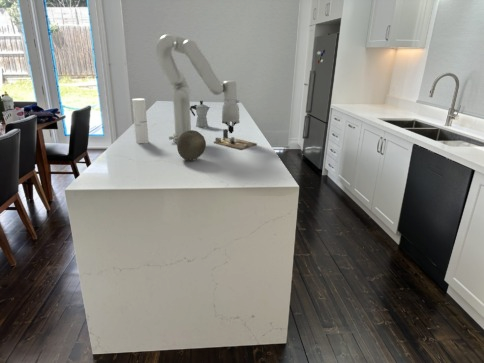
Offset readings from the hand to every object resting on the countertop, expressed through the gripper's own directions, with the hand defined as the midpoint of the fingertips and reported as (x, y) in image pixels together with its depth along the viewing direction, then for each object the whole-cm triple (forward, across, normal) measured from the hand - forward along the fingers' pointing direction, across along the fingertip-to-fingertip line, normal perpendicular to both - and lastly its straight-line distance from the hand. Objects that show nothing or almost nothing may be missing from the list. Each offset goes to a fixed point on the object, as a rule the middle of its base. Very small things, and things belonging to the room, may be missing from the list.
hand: (231, 132), depth 207 cm
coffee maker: (+5, +27, -37) cm, 46 cm away
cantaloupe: (+5, +15, +41) cm, 44 cm away
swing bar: (+4, +1, +5) cm, 6 cm away
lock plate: (+5, -3, +7) cm, 9 cm away
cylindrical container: (+4, +52, +11) cm, 53 cm away
